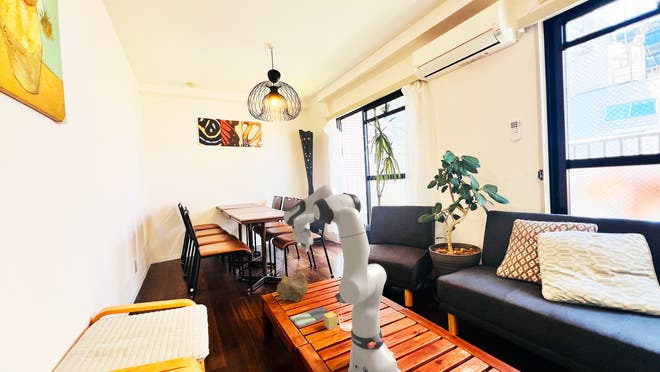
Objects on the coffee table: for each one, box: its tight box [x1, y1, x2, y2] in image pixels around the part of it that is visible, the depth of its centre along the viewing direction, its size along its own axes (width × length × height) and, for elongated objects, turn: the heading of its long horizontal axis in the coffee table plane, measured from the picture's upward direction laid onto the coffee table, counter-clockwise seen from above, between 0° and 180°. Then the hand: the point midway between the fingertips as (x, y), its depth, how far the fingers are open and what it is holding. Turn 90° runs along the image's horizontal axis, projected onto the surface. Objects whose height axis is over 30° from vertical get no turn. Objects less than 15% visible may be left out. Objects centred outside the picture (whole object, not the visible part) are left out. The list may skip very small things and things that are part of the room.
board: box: [289, 306, 330, 329], centre depth 149 cm, size 12×21×1 cm, turn 122°
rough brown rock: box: [275, 271, 309, 303], centre depth 175 cm, size 23×17×15 cm
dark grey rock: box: [334, 292, 347, 304], centre depth 174 cm, size 19×4×15 cm
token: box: [323, 311, 338, 331], centre depth 139 cm, size 5×5×6 cm
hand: (303, 249), depth 163 cm, fingers open, 8 cm apart
